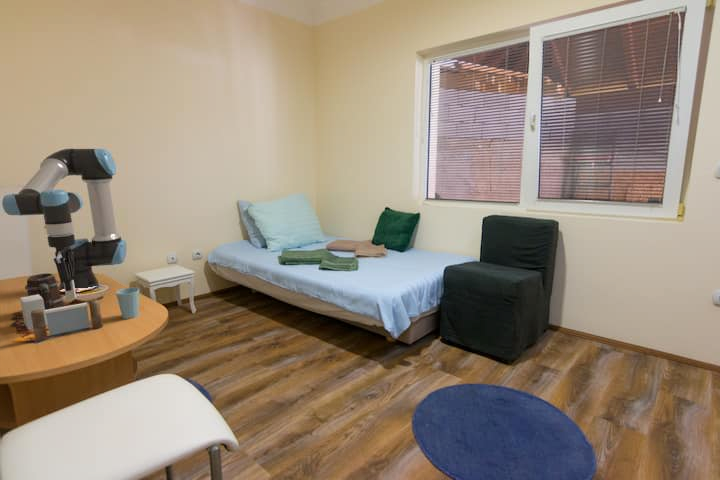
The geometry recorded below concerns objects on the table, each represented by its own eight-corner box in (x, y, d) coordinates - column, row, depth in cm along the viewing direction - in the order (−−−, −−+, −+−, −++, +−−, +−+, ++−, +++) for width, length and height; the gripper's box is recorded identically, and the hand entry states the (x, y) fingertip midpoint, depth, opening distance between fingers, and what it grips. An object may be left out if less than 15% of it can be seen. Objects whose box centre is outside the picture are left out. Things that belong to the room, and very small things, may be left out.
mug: (25, 312, 155) (19, 276, 152) (63, 304, 164) (57, 270, 161) (30, 323, 144) (23, 284, 141) (70, 314, 153) (64, 278, 150)
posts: (102, 325, 143) (98, 299, 141) (102, 327, 140) (99, 301, 138) (36, 338, 132) (31, 310, 130) (35, 341, 129) (30, 313, 127)
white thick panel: (90, 325, 140) (87, 302, 138) (90, 327, 139) (87, 303, 137) (48, 334, 133) (44, 310, 131) (48, 335, 132) (44, 311, 130)
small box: (48, 325, 142) (43, 298, 140) (28, 330, 138) (23, 302, 136) (43, 320, 147) (39, 293, 145) (24, 324, 143) (19, 297, 141)
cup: (140, 318, 149) (137, 292, 147) (117, 321, 146) (114, 295, 144) (142, 311, 156) (140, 286, 154) (120, 314, 153) (117, 289, 151)
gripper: (54, 231, 141) (64, 293, 146) (40, 239, 129) (52, 305, 134) (78, 230, 143) (88, 290, 149) (67, 237, 132) (78, 302, 137)
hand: (71, 297), depth 141 cm, fingers closed
